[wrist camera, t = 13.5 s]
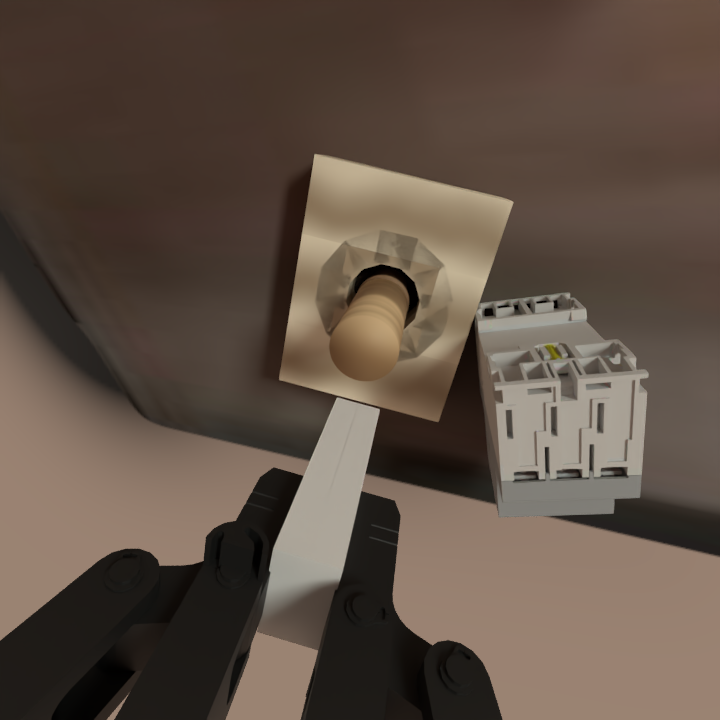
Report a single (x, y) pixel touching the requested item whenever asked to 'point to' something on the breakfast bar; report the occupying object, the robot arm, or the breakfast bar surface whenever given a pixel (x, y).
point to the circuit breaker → (558, 409)
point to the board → (396, 249)
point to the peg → (372, 327)
